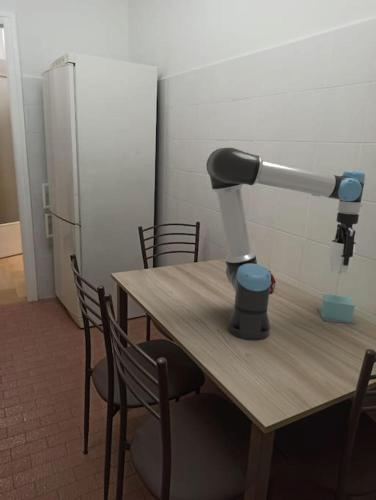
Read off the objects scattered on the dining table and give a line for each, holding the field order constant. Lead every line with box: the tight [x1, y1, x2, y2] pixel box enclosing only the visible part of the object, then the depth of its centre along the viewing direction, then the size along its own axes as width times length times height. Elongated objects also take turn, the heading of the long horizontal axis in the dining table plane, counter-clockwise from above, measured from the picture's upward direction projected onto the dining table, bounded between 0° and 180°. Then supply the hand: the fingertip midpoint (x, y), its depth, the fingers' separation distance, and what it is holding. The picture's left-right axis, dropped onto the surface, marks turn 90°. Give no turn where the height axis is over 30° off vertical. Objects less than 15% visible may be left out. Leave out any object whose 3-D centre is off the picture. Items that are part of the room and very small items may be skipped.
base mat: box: [316, 307, 357, 325], centre depth 147 cm, size 12×12×1 cm
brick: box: [320, 292, 355, 322], centre depth 146 cm, size 9×11×7 cm
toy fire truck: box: [268, 269, 277, 295], centre depth 170 cm, size 7×12×10 cm, turn 96°
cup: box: [329, 238, 357, 275], centre depth 142 cm, size 9×9×12 cm
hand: (339, 269), depth 143 cm, fingers closed on cup, 8 cm apart
